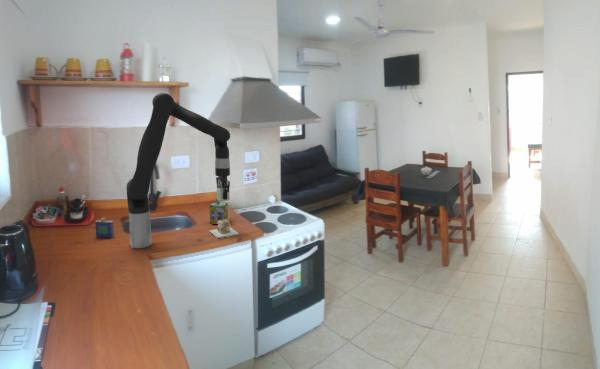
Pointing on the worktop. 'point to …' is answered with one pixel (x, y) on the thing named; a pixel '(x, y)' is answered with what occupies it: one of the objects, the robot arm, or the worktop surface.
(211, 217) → the chalk box
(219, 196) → the sage block
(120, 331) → the worktop surface
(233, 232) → the tile
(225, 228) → the maple block
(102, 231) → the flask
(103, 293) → the worktop surface
